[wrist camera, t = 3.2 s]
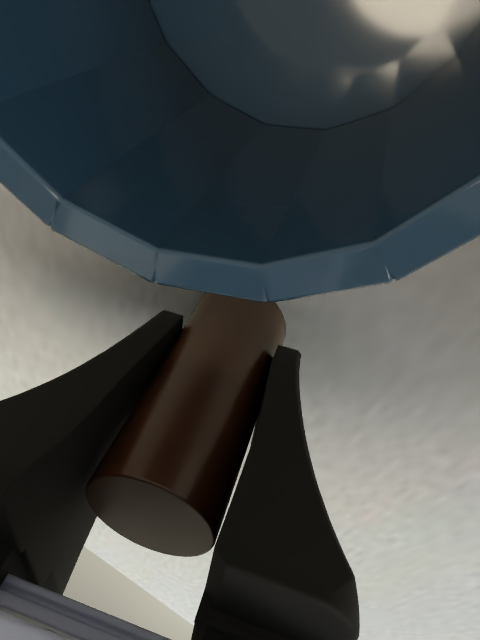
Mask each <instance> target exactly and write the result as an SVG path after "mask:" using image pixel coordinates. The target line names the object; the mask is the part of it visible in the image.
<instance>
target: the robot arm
mask: <svg viewBox="0 0 480 640" xmlns="http://www.w3.org/2000/svg"><path fill="white" fill-rule="evenodd" d="M182 327H183V316H182V315H179V314H176V313H172V312H169V311H166V310H164V311H162V312H160V313H159V314H157V315H156V316H155V317H153V318H152V319H151V320H149V321H148V322H147V323H145V324H144V325H142V326H141V327H140V328H138V329H137V330H135V331H134V332H133V333H131V334H130V335H128V336H127V337H125V338H124V339H122V340H121V341H119V342H118V343H116V344H115V345H113V346H112V347H110V348H109V349H107V350H106V351H104V352H102V353H101V354H99V355H97V356H96V357H94V358H92V359H91V360H89V361H87V362H86V363H84V364H82V365H80V366H79V367H77V368H75V369H73V370H71V371H69V372H67V373H65V374H63V375H61V376H59V377H57V378H55V379H53V380H51V381H49V382H46V383H44V384H42V385H40V386H37V387H35V388H33V389H30V390H28V391H25V392H23V393H21V394H18V395H16V396H13V397H10V398H7V399H4V400H2V401H0V640H171V639H168V638H166V637H163V636H161V635H159V634H156V633H154V632H151V631H149V630H146V629H144V628H141V627H139V626H136V625H134V624H131V623H129V622H127V621H124V620H122V619H119V618H117V617H114V616H112V615H109V614H107V613H105V612H102V611H99V610H97V609H95V608H92V607H90V606H87V605H85V604H82V603H80V602H77V601H75V600H73V599H70V598H67V597H65V596H63V592H64V590H65V588H66V585H67V583H68V581H69V578H70V576H71V574H72V571H73V569H74V566H75V564H76V562H77V560H78V557H79V555H80V552H81V550H82V548H83V546H84V544H85V541H86V539H87V537H88V535H89V533H90V530H91V528H92V526H93V524H94V522H95V519H96V517H97V515H96V514H95V512H94V511H93V510H92V508H91V507H90V505H89V503H88V501H87V499H86V493H85V490H86V485H87V483H88V481H89V480H90V478H91V476H92V475H93V473H94V472H95V470H96V468H97V467H98V465H99V464H100V462H101V460H102V459H103V457H104V455H105V454H106V452H107V451H108V449H109V447H110V446H111V444H112V443H113V441H114V439H115V438H116V436H117V434H118V433H119V431H120V430H121V428H122V426H123V425H124V423H125V422H126V420H127V418H128V417H129V415H130V413H131V412H132V410H133V409H134V407H135V405H136V404H137V402H138V401H139V399H140V397H141V396H142V394H143V392H144V391H145V389H146V388H147V386H148V384H149V383H150V381H151V380H152V378H153V376H154V375H155V373H156V371H157V370H158V368H159V367H160V365H161V363H162V362H163V360H164V359H165V357H166V355H167V354H168V352H169V350H170V349H171V347H172V346H173V344H174V342H175V341H176V339H177V338H178V336H179V334H180V333H181V331H182ZM300 358H301V354H300V352H299V351H297V350H294V349H290V348H287V347H284V346H281V345H278V346H277V349H276V352H275V354H274V357H273V359H272V362H271V366H270V370H269V374H268V378H267V381H266V386H265V390H264V394H263V399H262V403H261V407H260V412H259V415H258V417H257V420H256V424H255V429H254V433H253V438H252V442H251V447H250V450H249V453H248V456H247V459H246V461H245V464H244V467H243V470H242V473H241V476H240V479H239V481H238V484H237V487H236V490H235V493H234V495H233V498H232V501H231V504H230V507H229V509H228V512H227V515H226V517H225V520H224V523H223V526H222V528H221V531H220V534H219V537H218V539H217V542H216V545H215V548H214V552H213V557H212V561H211V565H210V570H209V574H208V578H207V583H206V587H205V590H204V593H203V596H202V600H201V603H200V606H199V609H198V612H197V615H196V618H195V621H194V623H195V624H194V629H193V634H192V638H191V640H357V639H358V637H359V627H360V625H359V604H358V596H357V589H356V582H355V577H354V574H353V572H352V570H351V568H350V566H349V563H348V561H347V559H346V557H345V555H344V553H343V550H342V548H341V546H340V544H339V541H338V539H337V536H336V534H335V532H334V529H333V527H332V524H331V522H330V519H329V516H328V513H327V511H326V508H325V505H324V502H323V499H322V496H321V493H320V491H319V488H318V484H317V481H316V477H315V474H314V471H313V467H312V463H311V459H310V455H309V451H308V446H307V441H306V436H305V430H304V425H303V418H302V410H301V401H300V388H299V368H300Z"/></svg>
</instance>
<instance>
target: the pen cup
mask: <svg viewBox="0 0 480 640" xmlns="http://www.w3.org/2000/svg"><path fill="white" fill-rule="evenodd" d="M0 183H1V184H2V185H3V186H4V187H5V188H6V189H7V190H8V191H9V192H10V193H12V194H13V195H14V196H15V197H16V198H17V199H18V200H19V201H20V202H21V203H22V204H23V205H25V206H26V207H27V208H28V209H29V210H30V211H31V212H32V213H33V214H34V215H35V216H36V217H37V218H39V219H40V220H41V221H42V222H43V223H44V224H45V225H47V226H51V229H52V230H53V231H54V232H56V233H58V234H60V235H62V236H64V237H66V238H67V239H69V240H71V241H73V242H75V243H77V244H79V245H81V246H83V247H85V248H87V249H88V250H90V251H92V252H94V253H96V254H98V255H100V256H102V257H104V258H106V259H108V260H109V261H111V262H113V263H115V264H117V265H119V266H121V267H123V268H125V269H127V270H129V271H130V272H132V273H134V274H136V275H138V276H140V277H142V278H144V279H146V280H148V281H150V282H156V283H157V284H160V285H166V286H172V287H177V288H183V289H189V290H195V291H200V292H206V293H212V294H217V295H223V296H229V297H235V298H240V299H246V300H252V301H257V302H266V301H267V300H268V301H269V302H277V301H283V300H289V299H295V298H301V297H307V296H313V295H320V294H326V293H332V292H338V291H344V290H350V289H356V288H362V287H368V286H374V285H380V284H386V283H390V282H392V281H393V279H394V280H400V279H402V278H404V277H405V276H407V275H409V274H411V273H413V272H415V271H417V270H418V269H420V268H422V267H424V266H426V265H428V264H429V263H431V262H433V261H435V260H437V259H439V258H441V257H442V256H444V255H446V254H448V253H450V252H452V251H453V250H455V249H457V248H459V247H461V246H463V245H465V244H466V243H468V242H470V241H472V240H474V239H476V238H477V237H479V236H480V0H0Z"/></svg>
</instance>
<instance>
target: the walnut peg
mask: <svg viewBox="0 0 480 640" xmlns="http://www.w3.org/2000/svg"><path fill="white" fill-rule="evenodd" d="M285 334H286V325H285V320H284V317H283V315H282V313H281V311H280V309H279V308H278V306H277V305H276V304H275V303H274V302H269V301H268V300H267V301H266V302H257V301H252V300H246V299H240V298H235V297H229V296H223V295H217V294H212V293H206V294H205V295H204V296H203V297H202V299H201V300H200V302H199V304H198V305H197V307H196V308H195V310H194V312H193V313H192V315H191V317H190V318H189V320H188V321H187V323H186V325H185V326H184V328H183V329H182V331H181V333H180V334H179V336H178V338H177V339H176V341H175V342H174V344H173V346H172V347H171V349H170V350H169V352H168V354H167V355H166V357H165V359H164V360H163V362H162V363H161V365H160V367H159V368H158V370H157V371H156V373H155V375H154V376H153V378H152V380H151V381H150V383H149V384H148V386H147V388H146V389H145V391H144V392H143V394H142V396H141V397H140V399H139V401H138V402H137V404H136V405H135V407H134V409H133V410H132V412H131V413H130V415H129V417H128V418H127V420H126V422H125V423H124V425H123V426H122V428H121V430H120V431H119V433H118V434H117V436H116V438H115V439H114V441H113V443H112V444H111V446H110V447H109V449H108V451H107V452H106V454H105V455H104V457H103V459H102V460H101V462H100V464H99V465H98V467H97V468H96V470H95V472H94V473H93V475H92V476H91V478H90V480H89V481H88V483H87V485H86V490H85V493H86V499H87V501H88V503H89V505H90V507H91V508H92V510H93V511H94V512H95V514H96V515H97V516H98V517H99V518H100V519H101V520H102V521H103V522H104V523H105V524H106V525H108V526H109V527H110V528H112V529H113V530H114V531H116V532H117V533H119V534H120V535H122V536H123V537H125V538H127V539H129V540H131V541H132V542H134V543H136V544H139V545H141V546H143V547H146V548H148V549H151V550H154V551H157V552H160V553H164V554H169V555H174V556H183V557H192V556H199V555H202V554H205V553H207V552H208V551H209V550H211V548H212V547H213V546H214V544H215V541H216V538H217V535H218V532H219V529H220V527H221V524H222V521H223V518H224V515H225V512H226V509H227V506H228V503H229V500H230V497H231V494H232V491H233V488H234V485H235V482H236V479H237V476H238V473H239V471H240V468H241V465H242V462H243V459H244V456H245V453H246V450H247V447H248V444H249V441H250V438H251V435H252V432H253V429H254V426H255V423H256V420H257V417H258V415H259V412H260V407H261V403H262V399H263V394H264V390H265V386H266V381H267V378H268V374H269V370H270V366H271V362H272V359H273V357H274V354H275V352H276V349H277V346H278V345H281V346H282V344H283V341H284V338H285Z"/></svg>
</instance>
